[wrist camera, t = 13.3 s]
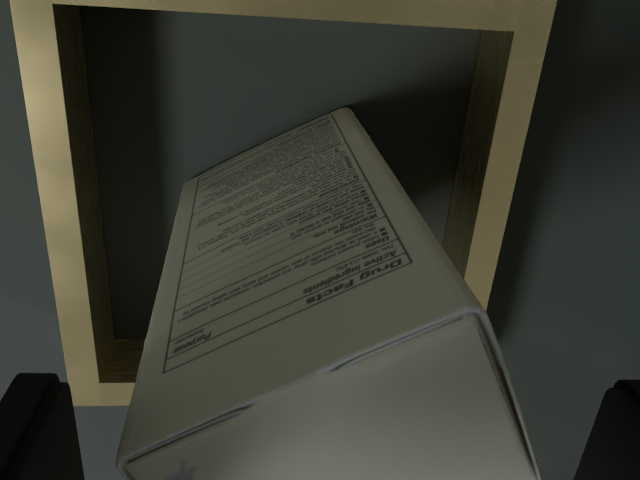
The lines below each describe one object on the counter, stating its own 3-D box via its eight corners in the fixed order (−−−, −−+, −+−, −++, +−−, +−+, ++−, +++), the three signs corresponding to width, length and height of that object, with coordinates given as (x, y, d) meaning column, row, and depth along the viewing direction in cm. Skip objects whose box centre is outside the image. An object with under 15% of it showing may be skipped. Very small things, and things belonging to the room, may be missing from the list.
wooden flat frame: (582, -316, 15) (639, -359, 13) (421, 480, 28) (436, 528, 25) (-9, -394, 13) (-62, -460, 11) (106, 489, 26) (92, 541, 24)
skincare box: (240, 279, 22) (223, 620, 11) (180, 179, 20) (86, 473, 9) (403, 208, 21) (557, 497, 10) (357, 97, 19) (487, 308, 8)
